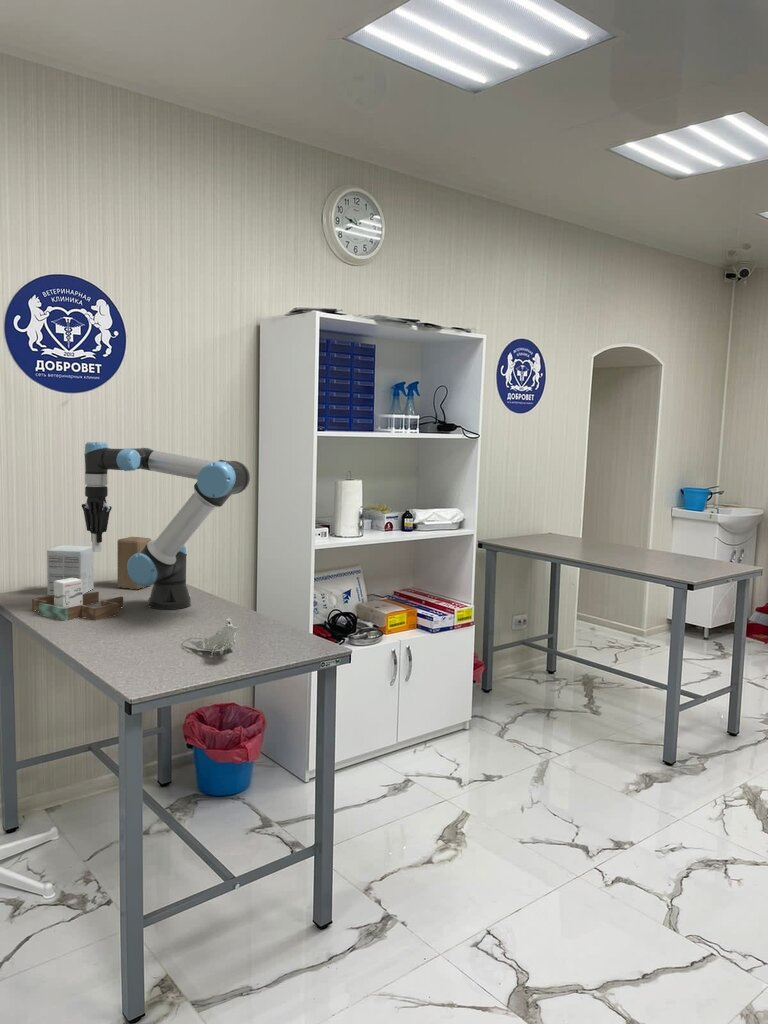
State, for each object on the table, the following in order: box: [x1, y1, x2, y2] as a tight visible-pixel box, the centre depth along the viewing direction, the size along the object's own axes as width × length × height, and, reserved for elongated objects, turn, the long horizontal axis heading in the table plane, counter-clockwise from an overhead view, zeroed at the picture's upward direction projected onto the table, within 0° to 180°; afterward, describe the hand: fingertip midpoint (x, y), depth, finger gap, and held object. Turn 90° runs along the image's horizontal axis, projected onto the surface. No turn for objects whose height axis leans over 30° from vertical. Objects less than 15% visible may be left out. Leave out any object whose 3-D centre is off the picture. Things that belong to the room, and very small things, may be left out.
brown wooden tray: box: [31, 591, 124, 621], centre depth 277 cm, size 28×24×4 cm
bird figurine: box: [182, 617, 240, 653], centre depth 234 cm, size 16×9×25 cm
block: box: [117, 536, 152, 590], centre depth 318 cm, size 10×10×20 cm
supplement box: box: [46, 544, 94, 596], centre depth 305 cm, size 13×13×18 cm
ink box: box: [54, 578, 83, 608], centre depth 273 cm, size 9×5×12 cm, turn 151°
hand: (96, 551), depth 281 cm, fingers closed
